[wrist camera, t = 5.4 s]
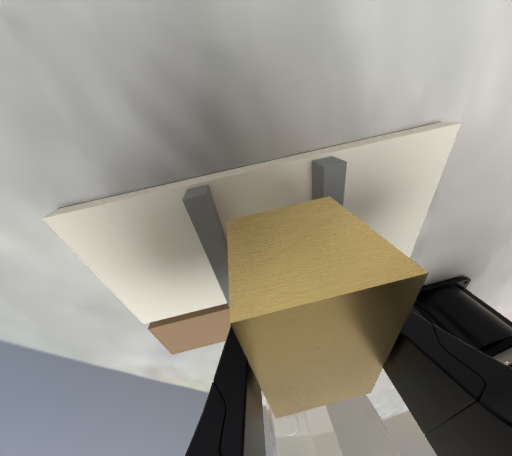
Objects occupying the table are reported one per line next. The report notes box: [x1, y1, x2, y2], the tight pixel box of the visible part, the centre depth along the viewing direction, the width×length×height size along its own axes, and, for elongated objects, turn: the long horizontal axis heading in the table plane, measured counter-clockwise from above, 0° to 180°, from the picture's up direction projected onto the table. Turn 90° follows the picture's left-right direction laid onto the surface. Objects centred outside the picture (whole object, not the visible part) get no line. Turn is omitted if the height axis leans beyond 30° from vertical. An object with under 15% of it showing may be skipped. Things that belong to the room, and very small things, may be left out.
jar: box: [265, 398, 343, 456], centre depth 25 cm, size 9×8×12 cm
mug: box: [326, 395, 400, 456], centre depth 34 cm, size 13×9×10 cm
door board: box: [42, 122, 461, 355], centre depth 14 cm, size 24×16×5 cm
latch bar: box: [227, 196, 428, 419], centre depth 8 cm, size 8×4×4 cm, turn 11°
